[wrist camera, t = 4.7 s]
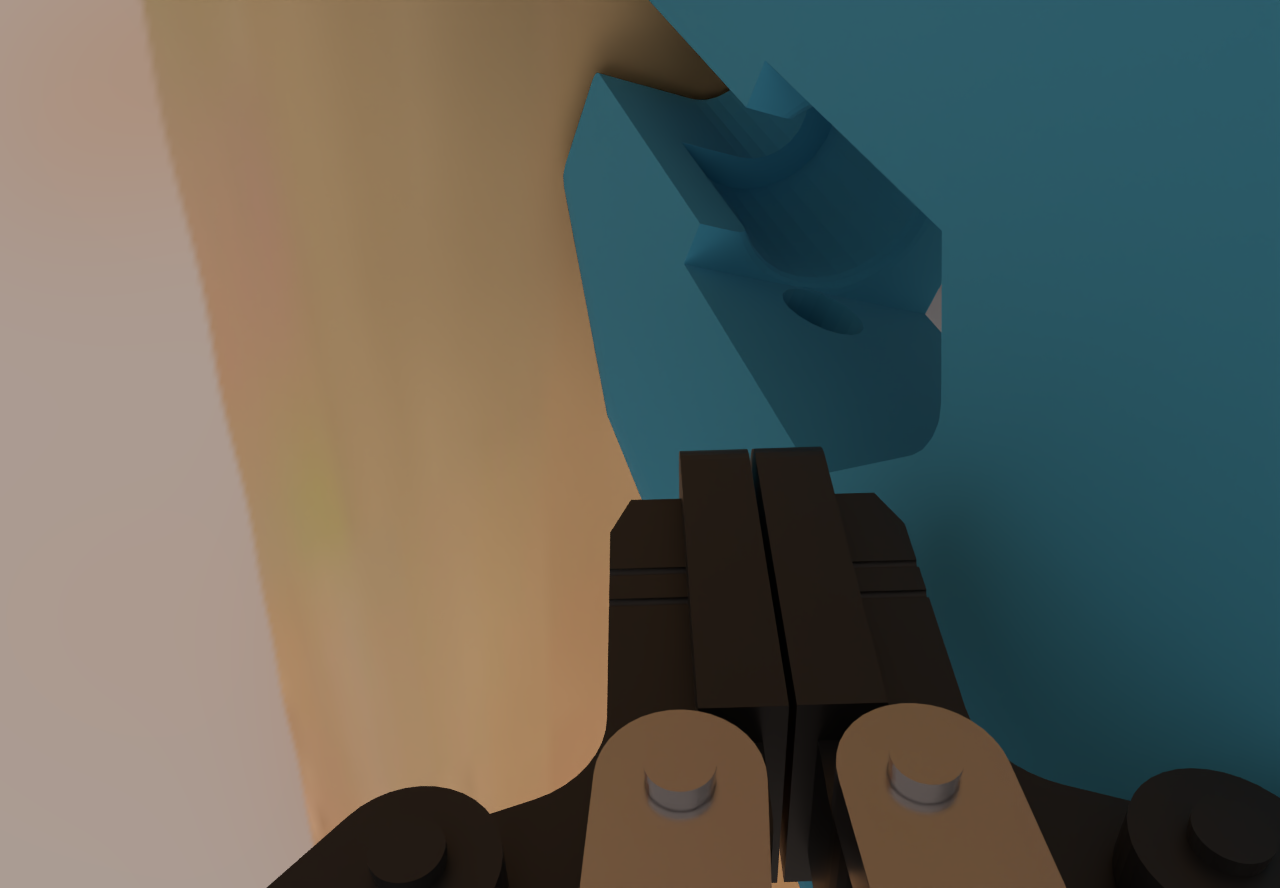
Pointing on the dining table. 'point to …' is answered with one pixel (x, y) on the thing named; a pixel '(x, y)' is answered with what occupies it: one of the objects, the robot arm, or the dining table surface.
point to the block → (983, 332)
